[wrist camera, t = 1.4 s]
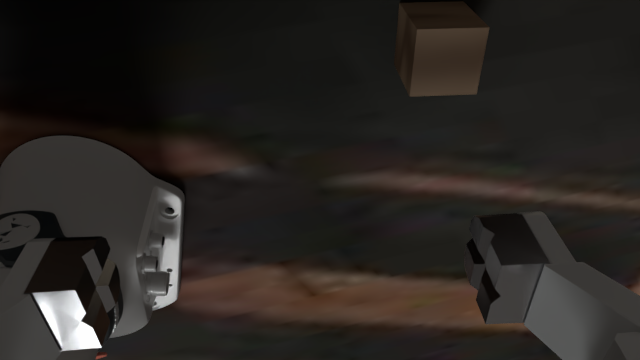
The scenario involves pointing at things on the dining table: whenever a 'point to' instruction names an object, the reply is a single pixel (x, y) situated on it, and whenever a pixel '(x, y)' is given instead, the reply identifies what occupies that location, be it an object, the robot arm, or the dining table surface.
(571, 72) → the dining table surface
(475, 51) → the walnut block
